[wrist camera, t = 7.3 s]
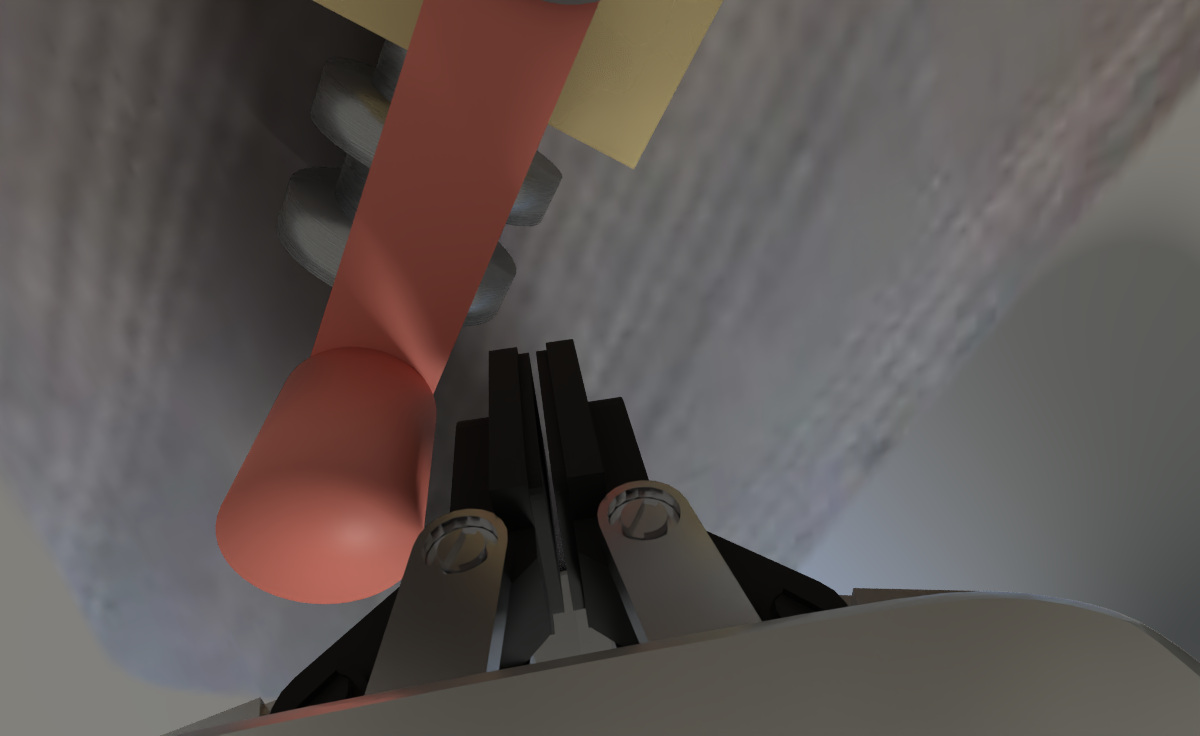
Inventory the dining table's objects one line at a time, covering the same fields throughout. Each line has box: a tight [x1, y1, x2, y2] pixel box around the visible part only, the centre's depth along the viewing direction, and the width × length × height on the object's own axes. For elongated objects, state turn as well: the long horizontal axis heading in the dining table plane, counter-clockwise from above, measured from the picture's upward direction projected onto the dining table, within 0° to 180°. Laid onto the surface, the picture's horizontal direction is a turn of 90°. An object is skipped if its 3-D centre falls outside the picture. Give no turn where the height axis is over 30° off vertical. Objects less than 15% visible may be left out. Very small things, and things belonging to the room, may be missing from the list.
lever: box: [216, 0, 600, 604], centre depth 10 cm, size 13×4×5 cm, turn 154°
